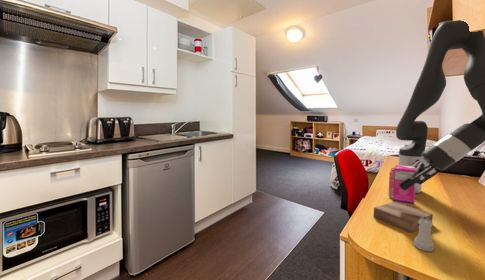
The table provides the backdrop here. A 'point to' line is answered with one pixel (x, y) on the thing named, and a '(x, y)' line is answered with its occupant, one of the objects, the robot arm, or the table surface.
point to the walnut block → (401, 216)
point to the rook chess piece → (424, 236)
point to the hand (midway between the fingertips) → (398, 184)
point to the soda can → (391, 183)
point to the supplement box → (400, 176)
